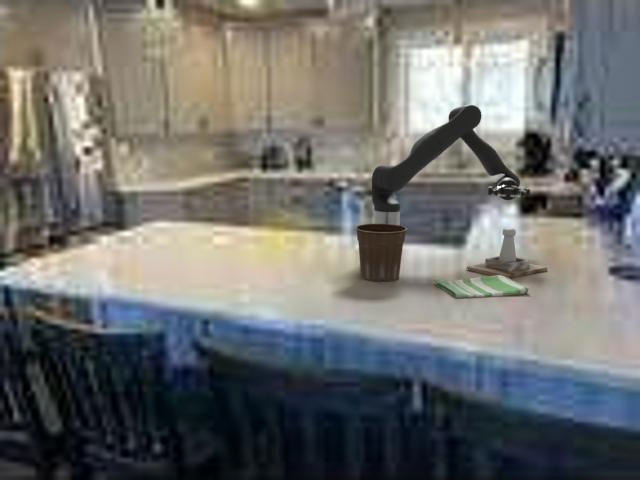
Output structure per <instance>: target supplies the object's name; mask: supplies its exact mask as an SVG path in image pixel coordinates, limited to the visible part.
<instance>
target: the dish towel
mask: <svg viewBox="0 0 640 480" xmlns="http://www.w3.org/2000/svg"><path fill="white" fill-rule="evenodd" d="M433 281H434V282H436V283H434V285H436V286H437V287H439V288H440V289H442V290H444V291H445V292H447V293H448V294H449V295H450V296H451V297H454V298H455V299H464V298H465V299H466V298H488V297H489V298H490V297H491V298H492V297H507V296H509V297H510V295H511V296H519V295H525V294H527V293H529V291H530V289H531V288H530V287H529V286H527V285H524V284H522V283H519V282H517V281H515V280H512V279H511V278H509V279H508V278H506V277H505V276H502V275H495V276H490V275H485V276H478V277H471V278H463V279H459V280H443V279H442V280H441V279H436V278H434V280H433Z"/></svg>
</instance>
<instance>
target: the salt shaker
mask: <svg viewBox="0 0 640 480" xmlns="http://www.w3.org/2000/svg"><path fill="white" fill-rule="evenodd" d="M516 233H517V232H516V229H515V228H511V227H506V228H505V227H504V228H503V229H502V233H501V235H502V236H503V240H502V244H501V247H500V251H499V256H498V257H499V261H502V262H506V263H514V262H516V258H517V255H516V245H515V236H516Z"/></svg>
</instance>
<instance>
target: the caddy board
mask: <svg viewBox="0 0 640 480" xmlns="http://www.w3.org/2000/svg"><path fill="white" fill-rule="evenodd" d="M530 262H531V261H530V260H529V259H524V258H519V257H516V262H514V263H506V262H502V261H499V256H494V257H493V256H492V257H488V258H485V261H484V263H479V264H474V265H469V266H466V270H467V269H468V270H471V271H470V272H473V271H475V272H474V273H477V272H478V274H481V273H482V274H481V275H485V276H495V275H502V276H505V277H506V278H508V279H512V278H513V279H514V278H517V277H518V278H519V277H522V276H528V275H533V274H538V273H542V272H543V273H544V272H547V271H548V266H544V265H538V264H533V263H530ZM468 270H467V271H468Z"/></svg>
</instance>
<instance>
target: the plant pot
mask: <svg viewBox="0 0 640 480" xmlns="http://www.w3.org/2000/svg"><path fill="white" fill-rule="evenodd" d="M354 229H355V231H356V239H357V241H358V254H359V268H360V269H359V272H360V277H361V279H364V280H366V281H369V282H379V283H380V282H381V281H384V282H394V281H397V280H399V279H400V272H401V263H402V255H403V248H404V247H403V246H404V242H405V239H406V233H407V231H408V227H406V226H404V225H393V224H374V223H364V224H358V225H356V226H355V227H354Z"/></svg>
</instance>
